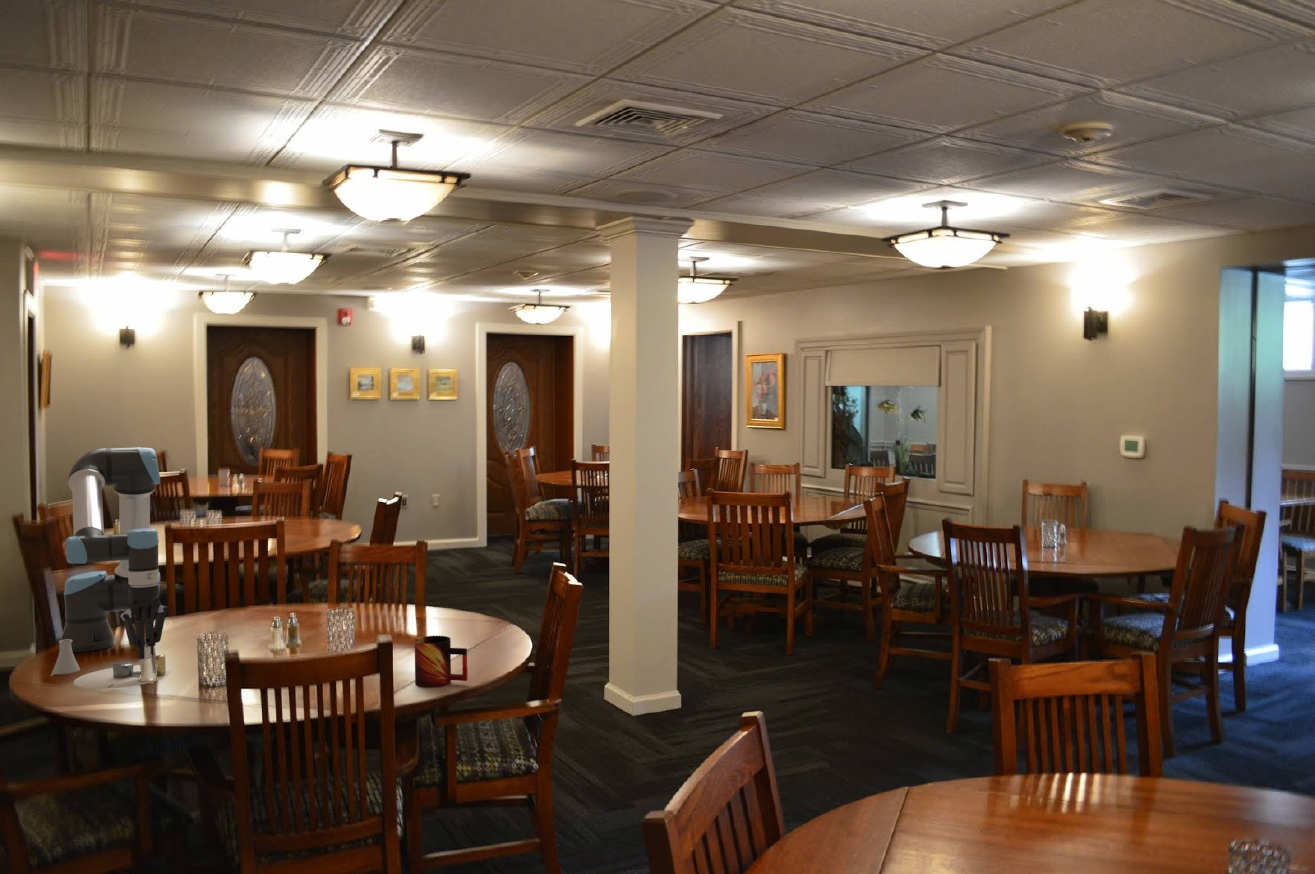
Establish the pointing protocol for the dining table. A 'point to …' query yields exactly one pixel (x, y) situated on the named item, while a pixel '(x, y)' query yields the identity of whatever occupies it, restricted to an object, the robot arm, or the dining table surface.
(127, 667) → the crank handle
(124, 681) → the dial board
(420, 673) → the mug
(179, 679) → the dining table surface
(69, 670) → the flask
